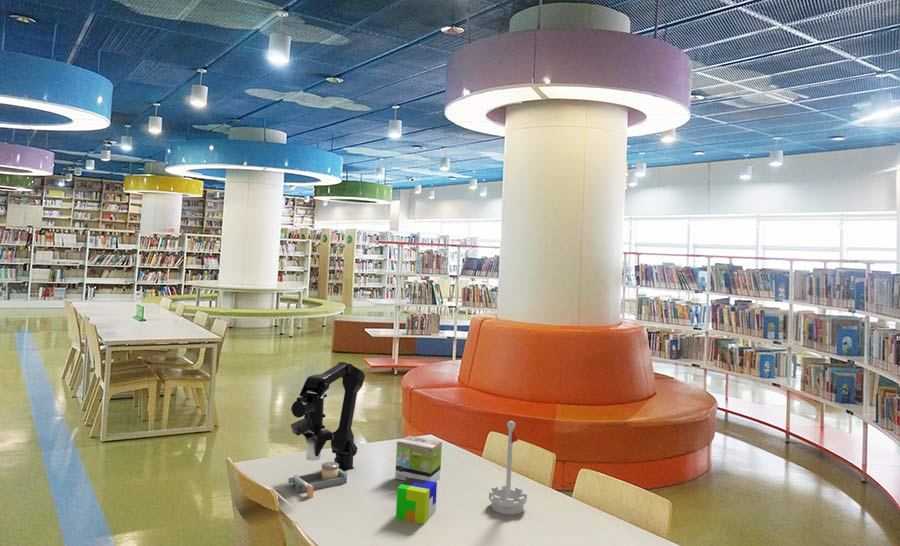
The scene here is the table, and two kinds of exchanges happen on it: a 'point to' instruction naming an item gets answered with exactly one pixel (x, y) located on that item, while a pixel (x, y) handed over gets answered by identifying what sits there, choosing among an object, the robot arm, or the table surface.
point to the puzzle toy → (416, 500)
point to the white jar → (311, 451)
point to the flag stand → (508, 486)
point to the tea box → (418, 459)
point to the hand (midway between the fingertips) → (313, 454)
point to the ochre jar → (329, 470)
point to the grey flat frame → (318, 481)
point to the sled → (301, 482)
